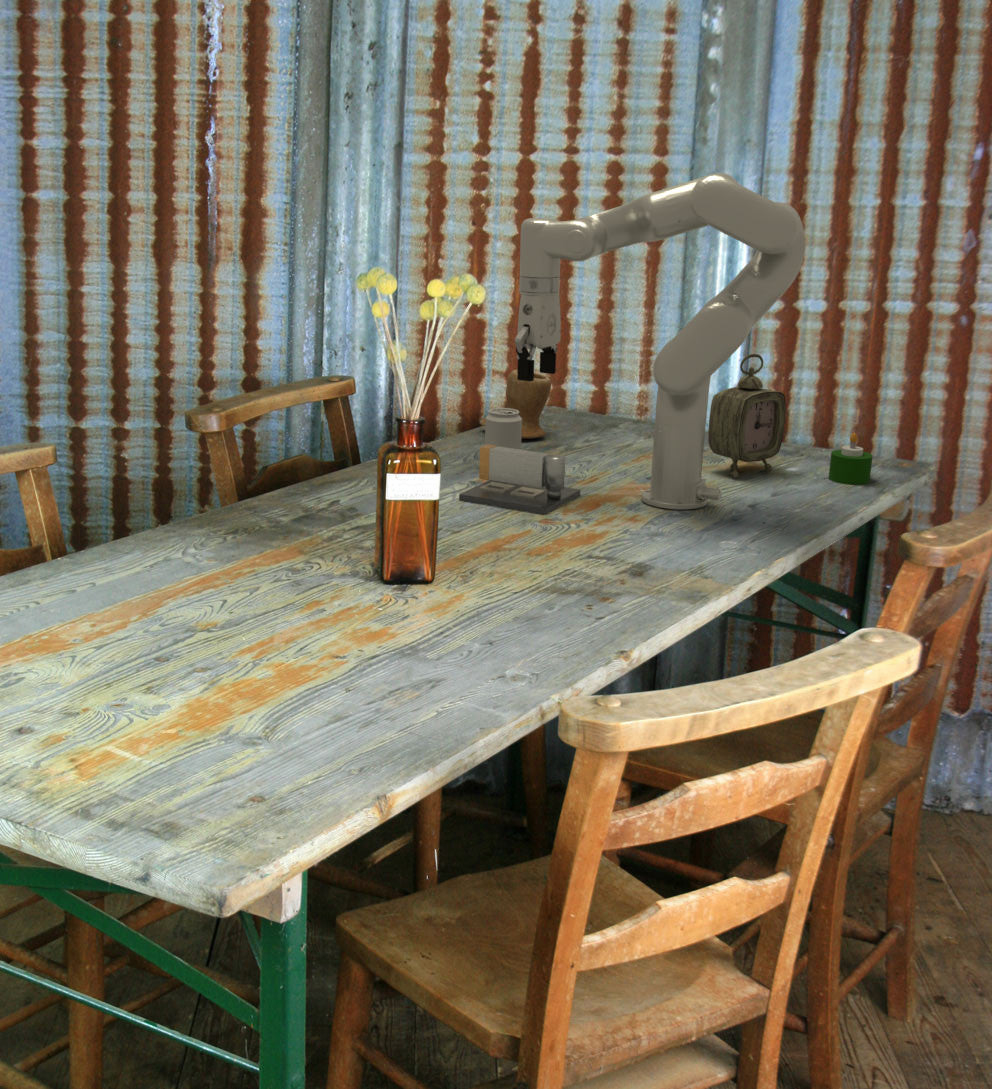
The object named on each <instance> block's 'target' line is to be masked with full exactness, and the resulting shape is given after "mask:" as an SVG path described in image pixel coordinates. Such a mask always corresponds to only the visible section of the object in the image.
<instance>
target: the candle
mask: <svg viewBox="0 0 992 1089" xmlns="http://www.w3.org/2000/svg"><path fill="white" fill-rule="evenodd" d="M849 441H850V444H849V445H844V446H841V449H835V450H833V451H831V454H830V462H829V470H828V471H829V472H828V480H829V481H832V482H833V483H837V484H843V485H851V486H852V485H853V486H861V485H862V486H863V485H868V484H869V483H870V481H871V473H872V472H871V471H872V463H873V454H871V453H869V452H867V451H864V447H861V446H856V445H857V441H858V435H857V433H855V432H853V433H852V434H851V435H850V437H849Z"/></svg>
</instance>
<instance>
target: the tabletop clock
mask: <svg viewBox="0 0 992 1089" xmlns="http://www.w3.org/2000/svg"><path fill="white" fill-rule="evenodd" d="M751 358H758V359H759V360H760V366H759V367H758V368H757V369H755V368H754V367H752V366H751V367H749V368H748V371H746V370H744V369H743V365H744V363H745V362H746V361H747V360H748V359H751ZM763 367H764V358H763V357H762V356H761V355H760V354H758V353H750V354H748V355H747V354H746V356H745V357H743V359H742V360H741V363H740V366H739V369H740V371H741V372H742V374H744V375H745V376H742V377H741V378H740V379H739V380H738V382H737V384H736V386H733V387H729V388H727V389H724V390H721V391H719V392H716V394H714V395H713V397H712V399H711V404H710V409H709V419H708V436H707V437H708V438H707V439H708V445H709V449H710V450H711V451H712V453H713V454H715V455H716V456H717V455H718V456H722V457H724V458H730V459H731V461H732V463H731V464H730V466H729V467H730V470H731V472H730V477H731V478H732V479H737V478H738V477H739V472H738V471H737V470H738V469H739V465H738V462H739V461H741V462H744V463H752V462H753V463H754V462H762V463H763V464H764V467H763V469H764V471H765V472H771V471H772V469H773V466H772V464H770V463H768V462H767V459H771V458H773V457H775V456H776V455H777V454H779V452H780V451H781V450H780V449H781V447H782V443H783V439H784V434H785V426H786V425H785V424H786V410H787V409H786V408H787V407H786V406H787V404H786V396H785V393H783V392H782V391H777V390H773V389H772V390H771V389H767V388H764V386H763V382H762V381H761V379H760V378H759V377H758V376H756V374H758V373H760V371H761V370H762V369H763Z"/></svg>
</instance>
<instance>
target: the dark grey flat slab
mask: <svg viewBox="0 0 992 1089" xmlns="http://www.w3.org/2000/svg"><path fill="white" fill-rule="evenodd" d="M581 491H582V489H579V488H573V487H567V486H564V489H563V490H548V489H546V488H545V487H543V488H537V487H531V486H525V485H519V484H512V483H506V482H500V481H494V480H486V481H485V482H483V483H481V484H479V485H476V486H473V487H471V488H469V489H467V490H465V491H462V492H460V493H459V494H458V500H459V501H462V502H467V503H468V502H469V503H475V504H478V505H479V504H480V505H485V506H489V507H490V506H492V507H496V506H497V507H498V508H503V509H508V508H509V510H514V509H515V511H520V510H522V511H521V512H526V511H528V513H532V512H533V513H534V514H538V513H539V514H538V515H544V514H545V516H546V515H548V514H550V513H552V512H554V511H555V510H557V509H559V508H560V507H559V506H561V505H562V506H564V505H566V504H568V503H569V501H570V500H571V501H573V500H575V499H576V497H577V498H579V497H581V495H582V494H581V493H582V492H581ZM578 496H579V497H578ZM574 498H575V499H574ZM572 499H573V500H572ZM571 501H570V502H571ZM567 502H568V503H567ZM565 503H566V504H565ZM563 504H564V505H563ZM562 506H561V507H562ZM558 507H559V508H558ZM556 508H557V509H556ZM516 509H517V510H516ZM549 512H550V513H549ZM547 513H548V514H547Z"/></svg>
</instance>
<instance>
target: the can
mask: <svg viewBox="0 0 992 1089" xmlns="http://www.w3.org/2000/svg"><path fill="white" fill-rule="evenodd" d="M488 412H489V413H488V414H487V416H486V417H485V418H486V426H484V428H485V433H484V435H485V436H484V445H487V444H490V445H497V446H499V447H506V448H513V449H519V450H522V438H521V434H522V418H521V417H520V416H519V411H518V410H515V409H510V408H507V407H496V408H491V409H489V410H488Z"/></svg>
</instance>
